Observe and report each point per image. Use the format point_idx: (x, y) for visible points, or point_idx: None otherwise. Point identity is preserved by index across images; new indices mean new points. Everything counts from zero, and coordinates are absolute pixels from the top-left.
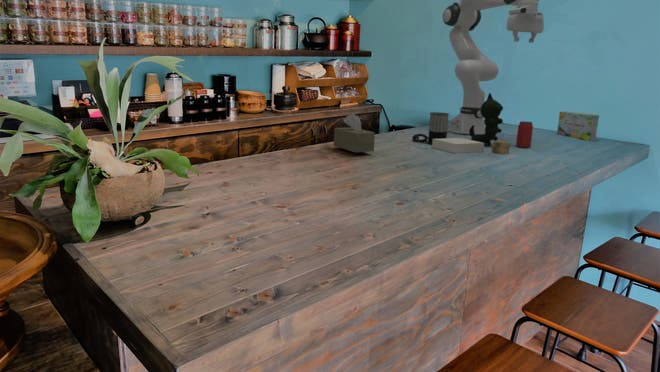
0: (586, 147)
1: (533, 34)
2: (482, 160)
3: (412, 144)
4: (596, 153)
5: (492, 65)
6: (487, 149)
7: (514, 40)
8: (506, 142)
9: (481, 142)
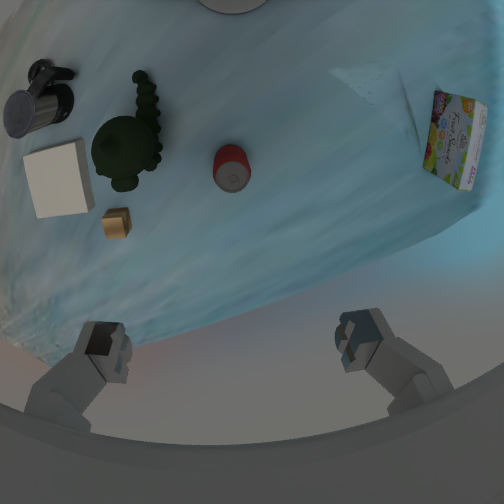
0: (370, 200)
1: (392, 404)
2: (64, 266)
3: None
4: (314, 254)
5: None
6: None
7: (87, 330)
8: (119, 235)
9: (85, 206)
